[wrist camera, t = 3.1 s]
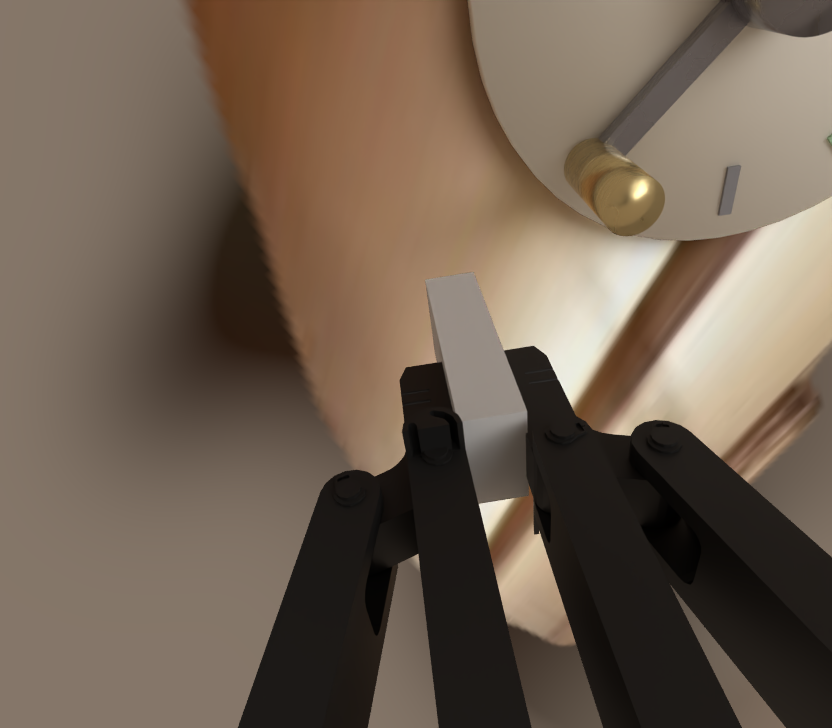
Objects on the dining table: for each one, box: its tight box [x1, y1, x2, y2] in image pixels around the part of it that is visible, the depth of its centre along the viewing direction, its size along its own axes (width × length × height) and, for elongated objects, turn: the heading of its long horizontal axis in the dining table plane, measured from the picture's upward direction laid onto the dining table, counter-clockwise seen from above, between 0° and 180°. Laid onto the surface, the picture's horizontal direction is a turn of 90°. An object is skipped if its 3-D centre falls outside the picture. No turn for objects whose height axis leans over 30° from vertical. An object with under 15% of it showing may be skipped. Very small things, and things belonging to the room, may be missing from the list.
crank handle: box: [564, 0, 832, 236], centre depth 22 cm, size 14×5×5 cm, turn 142°
